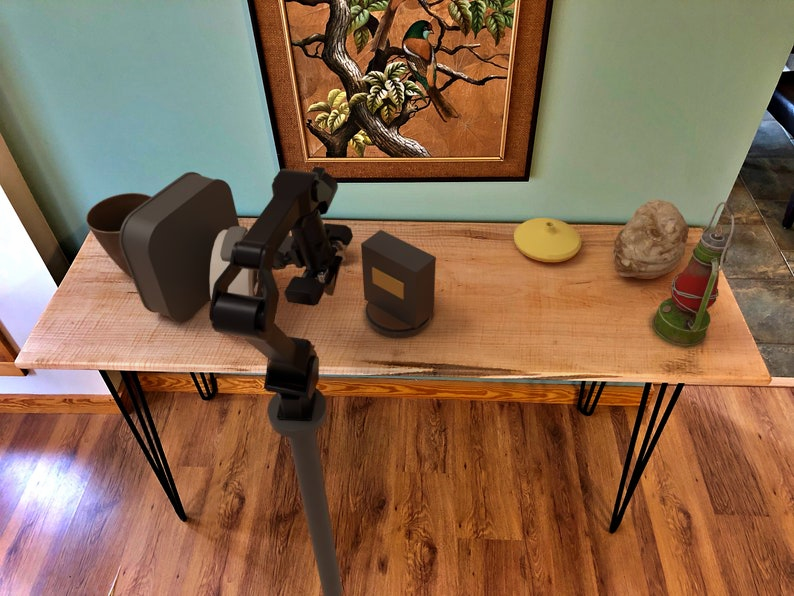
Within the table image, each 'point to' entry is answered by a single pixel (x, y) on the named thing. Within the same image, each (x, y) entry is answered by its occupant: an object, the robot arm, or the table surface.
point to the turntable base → (395, 332)
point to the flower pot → (113, 223)
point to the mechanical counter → (341, 250)
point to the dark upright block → (397, 282)
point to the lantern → (694, 290)
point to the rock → (651, 241)
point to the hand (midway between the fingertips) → (330, 294)
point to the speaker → (177, 243)
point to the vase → (547, 240)
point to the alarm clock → (221, 254)
